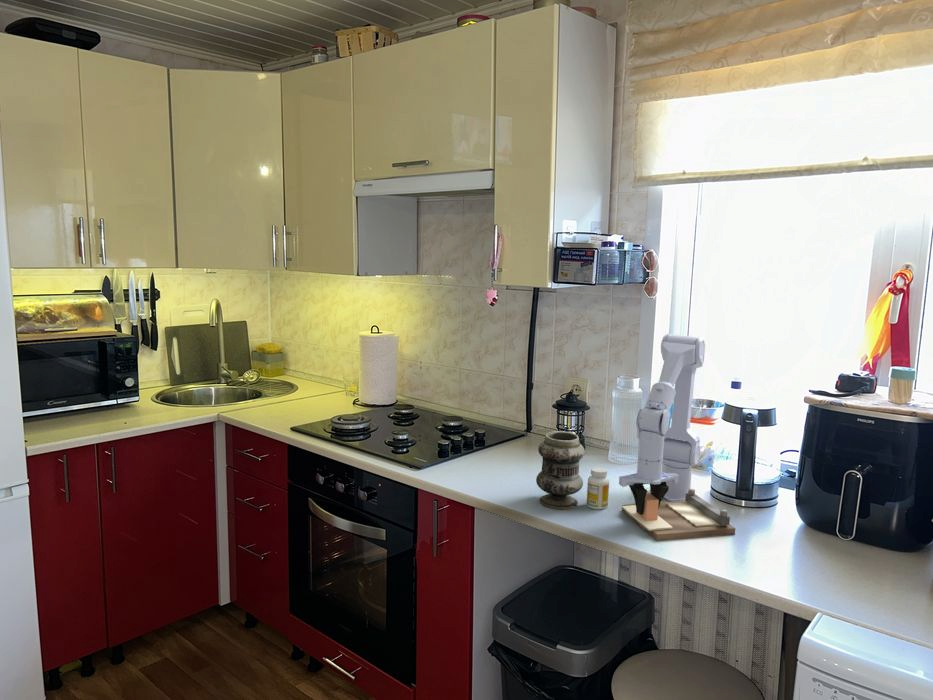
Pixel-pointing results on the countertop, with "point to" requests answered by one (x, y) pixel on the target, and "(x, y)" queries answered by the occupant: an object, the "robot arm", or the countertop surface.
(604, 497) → the supplement bottle
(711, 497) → the countertop surface
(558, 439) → the apothecary jar
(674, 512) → the ticket board
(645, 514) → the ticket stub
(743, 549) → the countertop surface
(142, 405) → the countertop surface
